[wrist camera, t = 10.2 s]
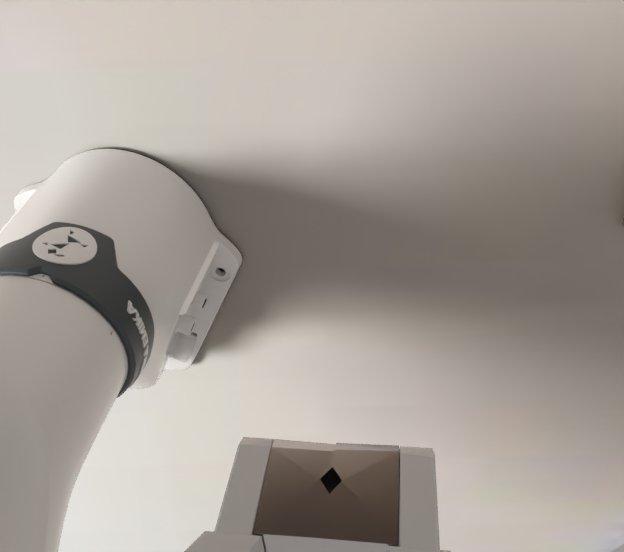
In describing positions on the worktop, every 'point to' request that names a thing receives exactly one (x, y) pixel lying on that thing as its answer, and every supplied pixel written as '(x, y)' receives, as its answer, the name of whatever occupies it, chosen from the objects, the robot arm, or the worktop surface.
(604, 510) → the worktop surface
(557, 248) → the worktop surface
